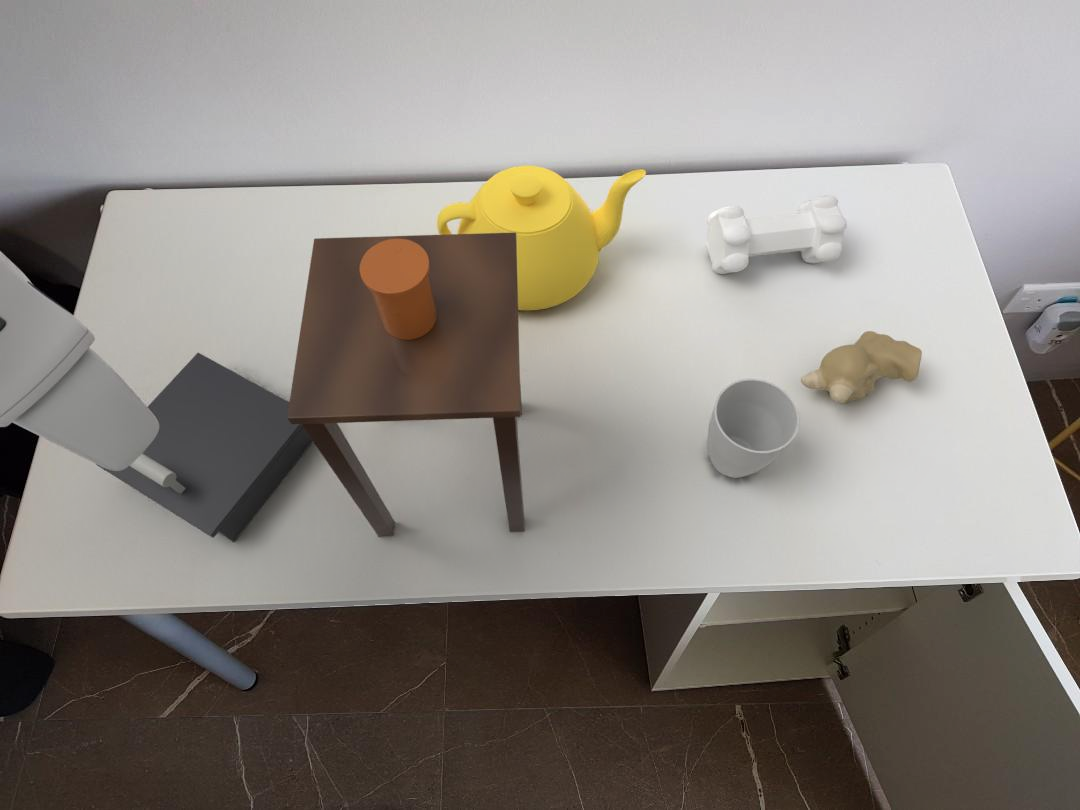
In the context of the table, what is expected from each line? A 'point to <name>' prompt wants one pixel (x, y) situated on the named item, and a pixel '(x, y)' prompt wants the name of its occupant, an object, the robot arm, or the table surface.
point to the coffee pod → (400, 287)
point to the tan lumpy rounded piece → (864, 366)
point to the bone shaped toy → (775, 234)
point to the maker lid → (209, 443)
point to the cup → (750, 426)
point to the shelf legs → (371, 503)
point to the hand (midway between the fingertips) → (77, 418)
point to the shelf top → (419, 364)
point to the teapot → (544, 228)
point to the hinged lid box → (266, 486)
